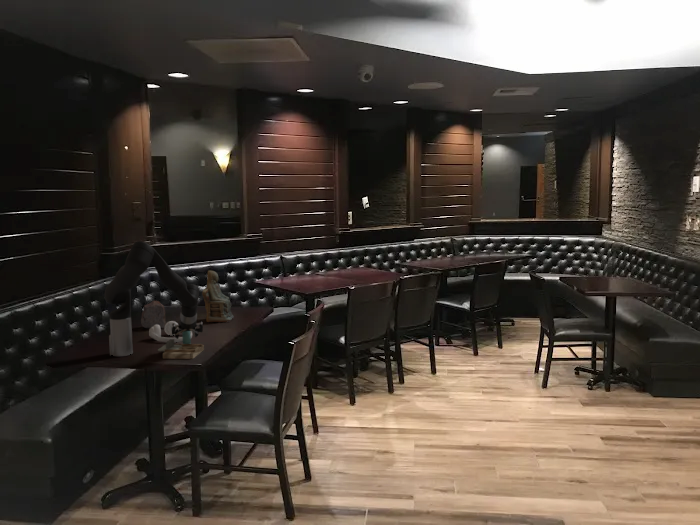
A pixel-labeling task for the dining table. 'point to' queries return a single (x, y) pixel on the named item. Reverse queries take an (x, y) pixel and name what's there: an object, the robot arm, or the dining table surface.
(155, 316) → the rock
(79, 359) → the dining table surface
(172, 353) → the board
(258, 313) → the dining table surface
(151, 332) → the headphones
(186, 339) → the peg
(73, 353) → the dining table surface
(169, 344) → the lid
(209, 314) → the sculpture
